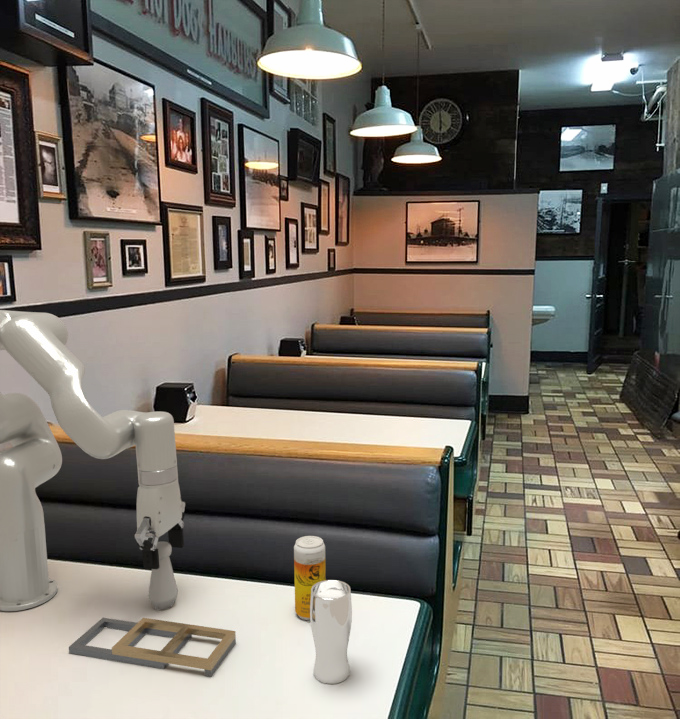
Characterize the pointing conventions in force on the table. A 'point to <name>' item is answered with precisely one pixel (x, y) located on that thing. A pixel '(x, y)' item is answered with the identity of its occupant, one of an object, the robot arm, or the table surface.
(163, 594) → the salt shaker
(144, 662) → the grey rectangular frame
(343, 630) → the beer glass
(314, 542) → the beer can
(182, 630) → the gold rectangular frame
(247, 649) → the table surface
